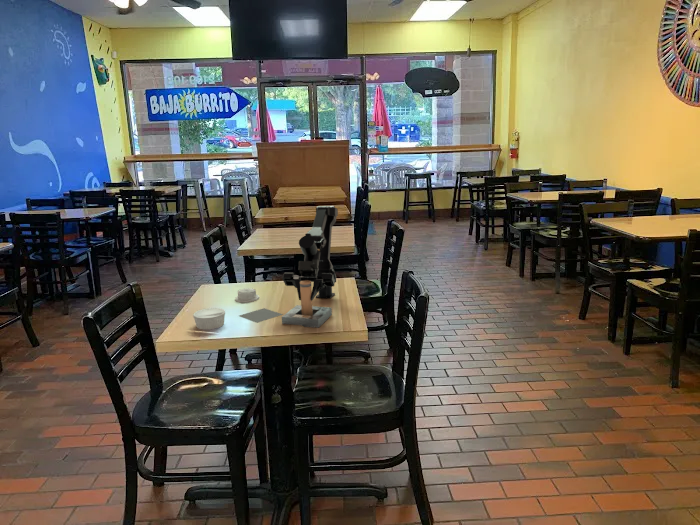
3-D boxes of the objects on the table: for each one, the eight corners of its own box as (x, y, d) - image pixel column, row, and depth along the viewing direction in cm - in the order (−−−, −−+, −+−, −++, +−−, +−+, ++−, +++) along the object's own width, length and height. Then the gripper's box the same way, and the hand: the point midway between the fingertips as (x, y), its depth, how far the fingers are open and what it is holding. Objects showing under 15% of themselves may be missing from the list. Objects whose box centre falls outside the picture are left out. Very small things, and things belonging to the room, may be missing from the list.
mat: (264, 309, 209) (264, 308, 209) (283, 315, 201) (283, 314, 201) (238, 317, 201) (238, 315, 201) (257, 323, 193) (257, 322, 193)
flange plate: (297, 312, 204) (296, 304, 203) (331, 315, 200) (331, 307, 199) (282, 324, 191) (281, 316, 190) (318, 327, 187) (318, 319, 186)
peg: (300, 315, 196) (298, 280, 193) (311, 313, 198) (309, 279, 195) (303, 318, 193) (301, 283, 190) (314, 316, 194) (312, 282, 191)
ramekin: (209, 334, 185) (208, 319, 183) (187, 328, 191) (186, 314, 189) (232, 324, 194) (231, 310, 192) (211, 319, 200) (210, 306, 198)
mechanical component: (252, 304, 217) (263, 297, 226) (252, 294, 216) (262, 287, 225) (230, 303, 220) (242, 296, 229) (230, 292, 219) (241, 286, 228)
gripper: (282, 251, 195) (274, 288, 187) (331, 251, 192) (326, 289, 184) (289, 267, 205) (282, 303, 196) (336, 267, 201) (332, 304, 193)
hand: (305, 299), depth 192 cm, fingers closed on peg, 4 cm apart
